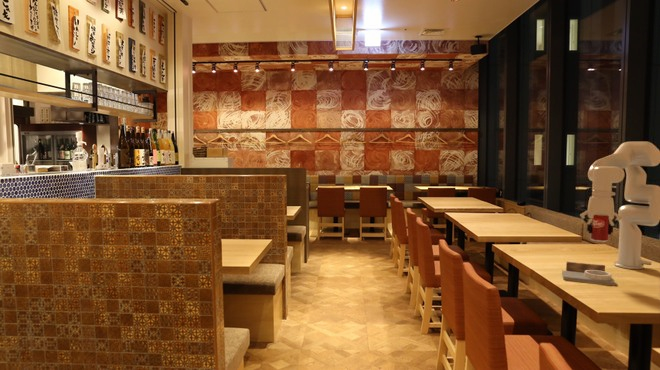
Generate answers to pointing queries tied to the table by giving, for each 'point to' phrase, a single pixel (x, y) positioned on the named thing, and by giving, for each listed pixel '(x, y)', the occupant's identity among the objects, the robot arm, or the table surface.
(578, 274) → the board
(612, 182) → the robot arm
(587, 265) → the rail
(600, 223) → the soda can
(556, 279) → the table surface
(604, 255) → the table surface
